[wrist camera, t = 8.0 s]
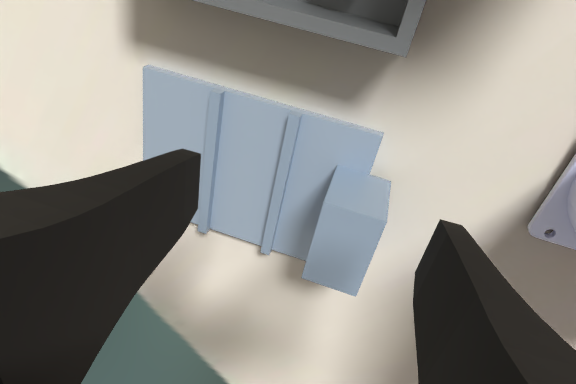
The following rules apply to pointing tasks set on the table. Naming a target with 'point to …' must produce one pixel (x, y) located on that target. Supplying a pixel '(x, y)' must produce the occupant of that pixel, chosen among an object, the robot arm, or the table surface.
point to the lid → (274, 173)
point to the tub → (341, 19)
